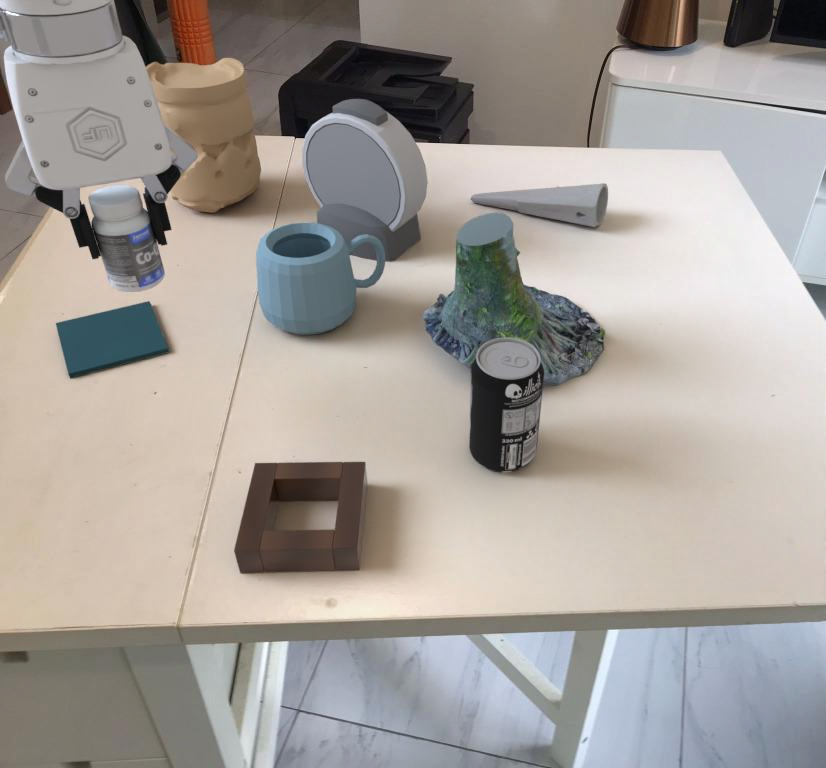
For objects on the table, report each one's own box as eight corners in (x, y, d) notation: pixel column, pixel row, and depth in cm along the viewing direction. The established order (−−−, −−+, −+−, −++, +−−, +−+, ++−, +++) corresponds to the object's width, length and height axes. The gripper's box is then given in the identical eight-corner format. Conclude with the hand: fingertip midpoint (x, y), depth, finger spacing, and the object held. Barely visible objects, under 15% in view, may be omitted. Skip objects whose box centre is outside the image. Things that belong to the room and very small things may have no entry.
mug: (373, 275, 102) (368, 203, 95) (402, 322, 94) (399, 248, 88) (253, 299, 96) (239, 224, 90) (274, 351, 89) (261, 275, 82)
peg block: (239, 573, 66) (233, 550, 65) (260, 485, 74) (254, 462, 72) (359, 570, 67) (357, 547, 65) (367, 483, 75) (365, 461, 73)
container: (167, 185, 117) (136, 58, 105) (255, 172, 121) (235, 49, 110) (179, 225, 108) (147, 92, 97) (273, 210, 113) (254, 82, 101)
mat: (70, 378, 84) (68, 373, 83) (57, 327, 90) (55, 322, 90) (169, 352, 88) (168, 347, 87) (150, 305, 94) (149, 300, 94)
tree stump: (620, 394, 87) (601, 261, 75) (440, 428, 88) (393, 303, 76) (594, 292, 100) (575, 164, 88) (438, 323, 102) (398, 202, 89)
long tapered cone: (487, 194, 123) (608, 210, 117) (471, 217, 119) (595, 234, 113) (483, 161, 119) (608, 175, 113) (466, 183, 115) (595, 199, 109)
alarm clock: (439, 236, 110) (438, 105, 98) (398, 270, 103) (391, 133, 91) (343, 205, 115) (331, 77, 103) (296, 236, 108) (278, 102, 96)
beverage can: (478, 424, 82) (481, 329, 74) (541, 435, 81) (551, 340, 73) (461, 469, 77) (463, 373, 69) (529, 482, 76) (538, 386, 68)
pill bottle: (154, 295, 71) (130, 210, 66) (101, 292, 71) (72, 206, 66) (173, 267, 75) (152, 183, 69) (122, 264, 75) (97, 180, 69)
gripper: (-70, 57, 53) (24, 288, 65) (195, 31, 60) (236, 244, 72) (-71, 24, 58) (16, 244, 70) (174, 3, 65) (216, 207, 77)
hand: (127, 242), depth 71 cm, fingers closed on pill bottle, 4 cm apart
